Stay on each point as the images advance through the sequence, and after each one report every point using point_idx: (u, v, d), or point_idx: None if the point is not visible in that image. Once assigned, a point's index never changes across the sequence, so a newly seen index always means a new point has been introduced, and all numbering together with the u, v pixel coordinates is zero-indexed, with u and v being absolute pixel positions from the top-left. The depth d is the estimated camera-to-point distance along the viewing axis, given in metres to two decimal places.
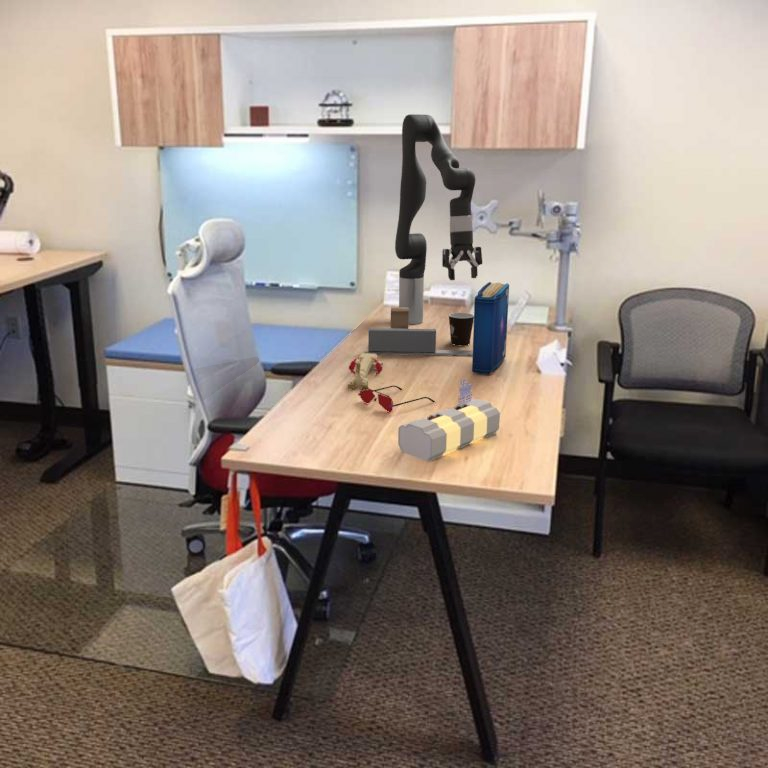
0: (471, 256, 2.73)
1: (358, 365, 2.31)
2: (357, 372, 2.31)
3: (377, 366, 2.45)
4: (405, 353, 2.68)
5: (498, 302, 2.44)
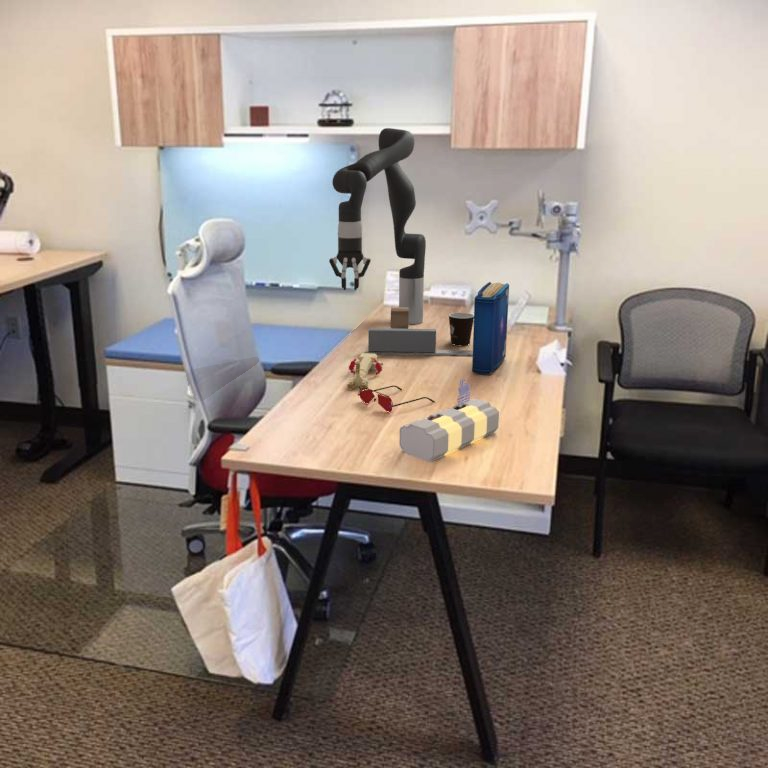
0: (354, 265, 2.60)
1: (358, 365, 2.31)
2: (357, 372, 2.31)
3: (377, 366, 2.45)
4: (405, 353, 2.68)
5: (498, 302, 2.44)
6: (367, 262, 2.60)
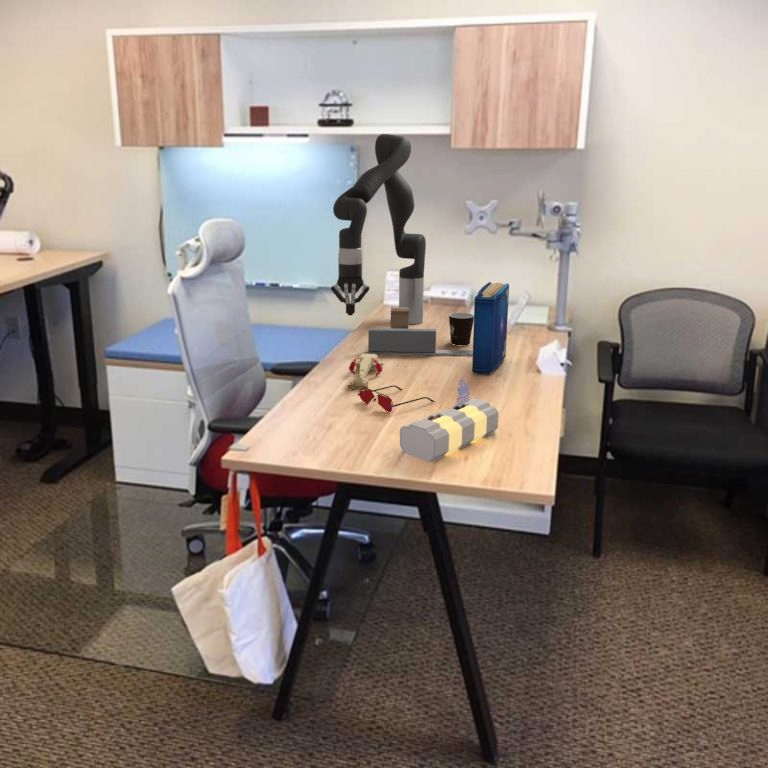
0: (353, 291, 2.62)
1: (358, 365, 2.31)
2: (357, 372, 2.31)
3: (377, 366, 2.45)
4: (405, 353, 2.68)
5: (498, 302, 2.44)
6: (366, 290, 2.63)
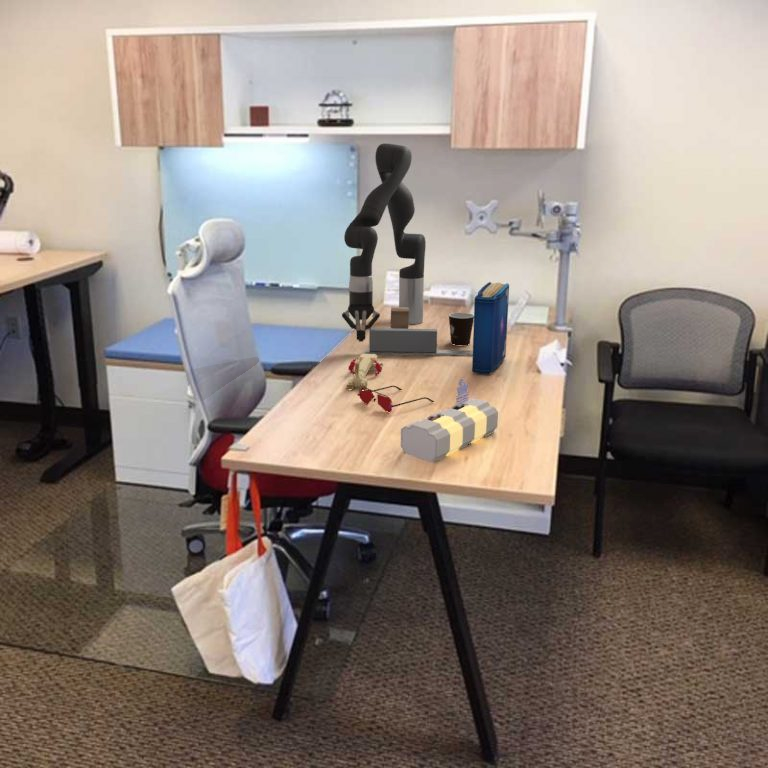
0: (364, 318, 2.65)
1: (357, 365, 2.31)
2: (356, 372, 2.31)
3: (376, 366, 2.44)
4: (405, 353, 2.68)
5: (498, 302, 2.44)
6: (376, 316, 2.65)
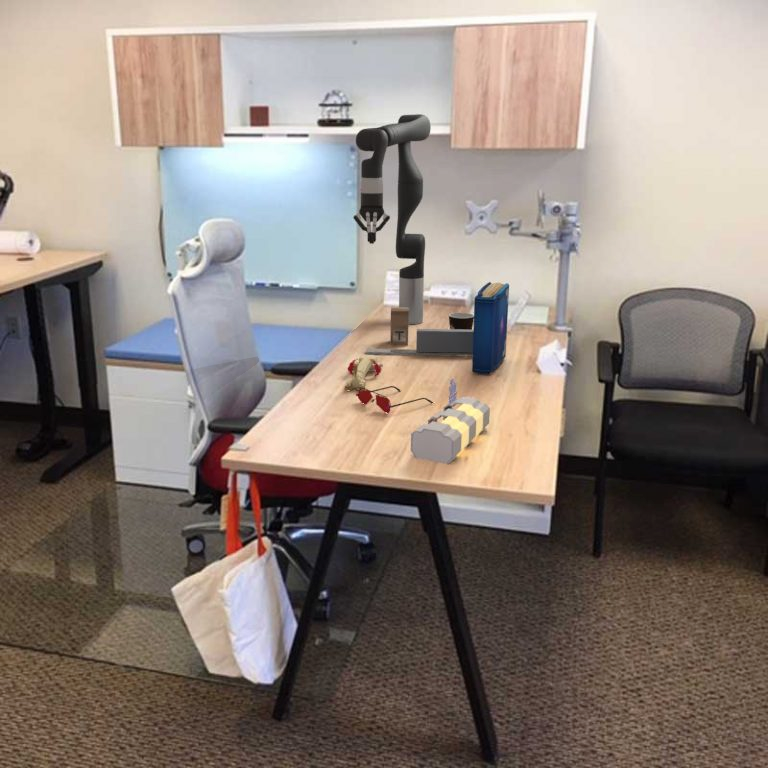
0: (375, 220, 2.76)
1: (355, 366, 2.30)
2: (354, 373, 2.30)
3: (376, 367, 2.43)
4: (405, 353, 2.68)
5: (498, 302, 2.44)
6: (386, 218, 2.76)
